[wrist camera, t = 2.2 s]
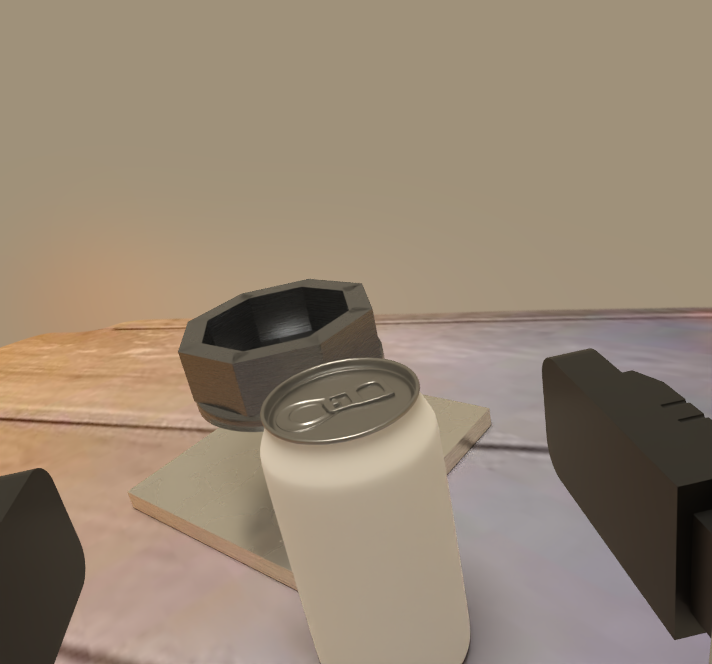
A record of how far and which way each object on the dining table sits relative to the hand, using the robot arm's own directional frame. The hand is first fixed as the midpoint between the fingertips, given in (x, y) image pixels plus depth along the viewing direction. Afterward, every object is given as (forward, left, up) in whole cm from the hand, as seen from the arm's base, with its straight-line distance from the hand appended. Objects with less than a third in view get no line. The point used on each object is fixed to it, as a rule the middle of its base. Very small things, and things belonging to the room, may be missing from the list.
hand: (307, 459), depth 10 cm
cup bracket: (-16, -19, -17) cm, 30 cm away
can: (-8, -7, -17) cm, 20 cm away
